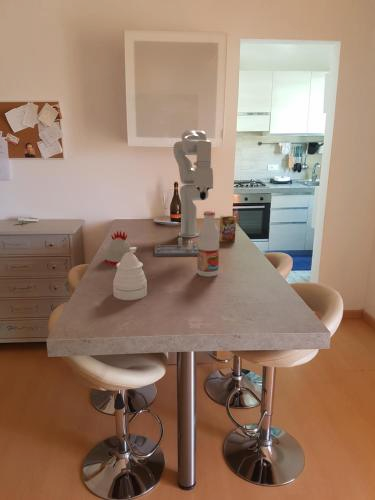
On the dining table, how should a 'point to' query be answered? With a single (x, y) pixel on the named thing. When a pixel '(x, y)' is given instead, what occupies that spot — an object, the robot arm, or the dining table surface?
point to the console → (175, 250)
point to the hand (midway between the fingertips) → (202, 199)
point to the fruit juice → (208, 246)
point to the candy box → (227, 228)
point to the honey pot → (129, 278)
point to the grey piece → (117, 249)
